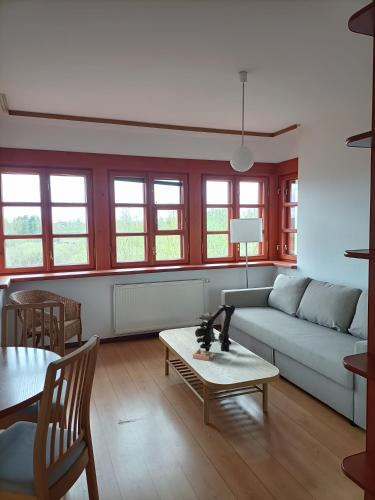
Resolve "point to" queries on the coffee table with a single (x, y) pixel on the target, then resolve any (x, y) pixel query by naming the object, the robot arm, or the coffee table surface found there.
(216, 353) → the slate mat
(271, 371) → the coffee table surface
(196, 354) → the block
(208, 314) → the cordless drill
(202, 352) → the t block
